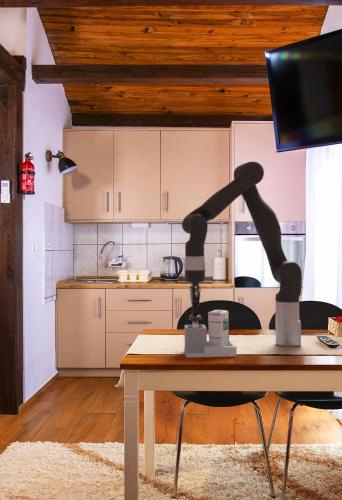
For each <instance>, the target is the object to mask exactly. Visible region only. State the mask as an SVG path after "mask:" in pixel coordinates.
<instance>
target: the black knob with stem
mask: <svg viewBox="0 0 342 500" xmlns="http://www.w3.org/2000/svg"><path fill="white" fill-rule="evenodd" d="M188 320H189V321H192V325H193V328H198V325H199V321H201V320H202V315H201V314H198V316H193V315H192V314H190V315H189V318H188Z"/></svg>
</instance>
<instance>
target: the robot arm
mask: <svg viewBox="0 0 342 500" xmlns="http://www.w3.org/2000/svg"><path fill="white" fill-rule="evenodd" d="M264 175H265V170H264V167H263V165H262V163H260V162H258V161H253V160H252V161H248V162H245V163H242V164H240V165H238V166H236V168H235V169H234V171H233V179H232V181H230V182H229V183H228V184H226V185H225V186H223V187H222V188H221V189H219V190H217V191H216V192H215V193H214V194H212V195H211V196H210V197H209V198H208V199H207V200H206V201H205V202H203V203H202V204H201V205H200V206H199V207H197V208H195V209H194V210H193V211H191V212H189V213H188V214H187V215H186V216H185V217H184V218H183V219H182V223H181V228H182V230H183V231H184V232H185V233H187V234H189V240H187V241H186V243H185V244H184V245H185V247H184V251H185V253H184V254H185V255H184V257H185V259H184V282H187V283H190V285H191V286H189V289H188V290H189V299H190V305H191V315H193V316H198V315H199V305H200V303H201V302H200V299H201V293H202V291H201V290H202V286H200V283H204V282H205V281H206V260H205V243H206V238H207V233H208V228H209V227H208V222H209V221H212V220H214V219H215V218H217V217H218V216H219V215H221V213H222V212H223V211H225V209H226V208H228V206H231V204H232V203H233V202H234V201H235V200H237V199H238V198H239V197H240V196H242V199H243V200H244V203H245V205H246V207H247V210H248V212H249V215H250V217H251V219H252V223H253V225H254V228H255V230H256V233H257V235H258V237H259V240H260V242H261V245H262V248H263V249H264V251H265V255H266V258H267V262H268V265H269V269H270V272H271V275H272V278H273V279H274V280H275V282H277V283H279V291H278V292H277V293H276V294H275V298H274V299H275V344H276V345H278V346H282V347H283V346H284V347H297V346H302V321H301V320H300V297H301V295H302V284H303V282H302V281H303V279H302V278H303V276H302V275H303V274H302V269H301V267H300V265H299V264H298V263H297V262H295V261H289V260H288V259H287V257H286V255H285V253H284V250H283V246H282V229H281V224H280V222H279V219H278V216H277V214H276V212H275V211H274V210H273V209H272V207H271V206H270V205H269V204H268V203H267V202H266V201H265V200H264V199H263V197H262V196H261V194H260V192H259V190H258V187H257V185H258V184H259V183H261V182H262V181H263V179H264Z"/></svg>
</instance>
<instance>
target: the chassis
mask: <svg viewBox="0 0 342 500" xmlns="http://www.w3.org/2000/svg"><path fill="white" fill-rule="evenodd" d="M207 330H208V329H207V327H206V325H205V324H198V328H193V324H184V349H183V350H184V354H185V357H186V358H216V357H217V358H220V357H221V358H223V357H224V358H225V357H228V358H229V357H234V358H235V357H237V348H238V347H237V346H236V344H235V343H234V342H233V341H232V340H229V346H214V347H209V340H208V339H207V338H208V336H207Z"/></svg>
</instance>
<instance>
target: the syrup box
mask: <svg viewBox="0 0 342 500" xmlns="http://www.w3.org/2000/svg"><path fill="white" fill-rule="evenodd" d="M207 314H208V316H207V319H208V321H207V322H208V341H209V347H214V346H229V341H230V330H229V329H230V326H229V323H230V322H229V318H230V317H229V310H225V309H214V310H211V311H209V312H207Z"/></svg>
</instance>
